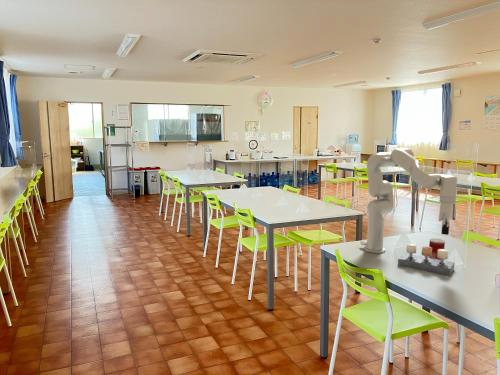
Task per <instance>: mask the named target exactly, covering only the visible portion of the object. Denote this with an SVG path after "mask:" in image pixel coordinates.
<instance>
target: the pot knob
mask: <svg viewBox="0 0 500 375" xmlns="http://www.w3.org/2000/svg"><path fill="white" fill-rule="evenodd" d="M421 256H422V257H425V261H427V260H428V258H429V256H432V248H431V247H429V246H427V245H426V246H422V247H421Z"/></svg>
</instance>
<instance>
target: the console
mask: <svg viewBox="0 0 500 375" xmlns="http://www.w3.org/2000/svg"><path fill="white" fill-rule="evenodd" d="M409 257H410V253H407V252H406V253H405V252H404V253H403V254H402V255H401V256H400V257H398V259H397V266H399V267H403V268H408V269H412V270H419V271H423V272H427V273H431V274H436V275H441V276H445V277H447V276H448V277H450V276H451V274H452V273H453V272H454V270H455V262H454V261H448V260H444V263H443V264H441V260H438V259H433V258H429V257H428V260H427V261H425V256H423V255H416V254H412V258H409Z"/></svg>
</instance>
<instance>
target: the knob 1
mask: <svg viewBox="0 0 500 375" xmlns="http://www.w3.org/2000/svg"><path fill="white" fill-rule="evenodd" d="M417 248H418V246H417V244H415V243H407V244H406V253H407V254H410V257H409V258H412V255H413V254H416V253H417Z"/></svg>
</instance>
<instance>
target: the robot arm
mask: <svg viewBox="0 0 500 375" xmlns="http://www.w3.org/2000/svg"><path fill="white" fill-rule="evenodd" d="M414 154H415V153H414V151H413V150H412V149H410V148H407V147H400V148H399V147H397V148H394V149H392V150H391V151H390V152H389V151H388V152H377V153H374V154H371V155H370V156H369V157H368V159H367V161H366V170H367V180H368V182H367V184H368V194H369V195H370V196H371V197H372V198H377V199H373V200H370V201H369V202H368V203H367V205H366V209H367V210H366V211H367V236H366V241H364V240H363V241H362V240H361V241H360V245H361V246H364V247H363V250H364V251H365V252H368V253H374V254H383V253H385V252H386V248H385V247H384V235H385V233H384V232H385V219H384V217H383V216H384V215H386V214H390V213H392V212H393V210H394V207H395V206H394V205H395V203H394V199H395V198H394V188H393V185H392V184H391V182H390V181H388V180H384V178H383V176H384V174H383V172H382V170H381V168H385V167H395V166H399V167H400V168H402V169H403V170H405V171H406V172H407V173H408V175H409V176H410V178H411V179H412V180H413V181H414V183H416V184H417V185H418V186H420V187H422V188H423V189H427V190H431V189H440V190H439V201H438V202H439V203H440V206H439V213H438V221H439V222H441V235H446V236H448V235H449V232H450V222H451V220H453V212H454V204H456V199H457V188H458V187H457V186H458V178H457V177H456V175H446V174H441V173H432V174H428V173H427V172H425V170H422V169H421V167H420V166H421V161H420V160H419V159H417V158H416V157H414V156H415V155H414Z"/></svg>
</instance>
